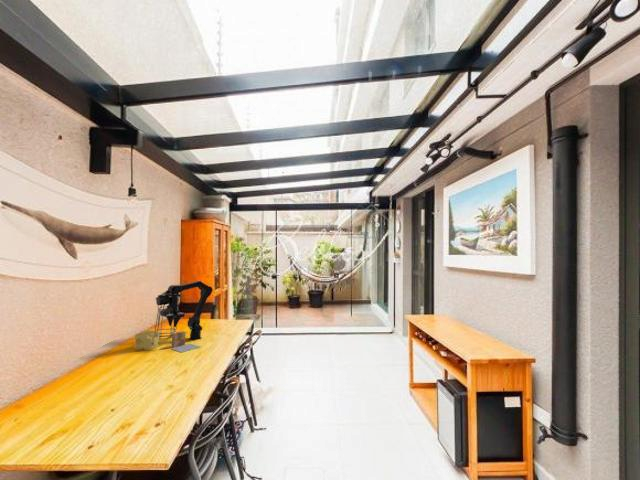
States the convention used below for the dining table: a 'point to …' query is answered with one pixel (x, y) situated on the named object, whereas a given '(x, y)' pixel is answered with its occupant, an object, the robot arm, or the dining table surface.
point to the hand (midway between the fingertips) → (172, 326)
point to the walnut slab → (178, 339)
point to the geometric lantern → (162, 319)
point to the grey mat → (185, 348)
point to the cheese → (146, 340)
